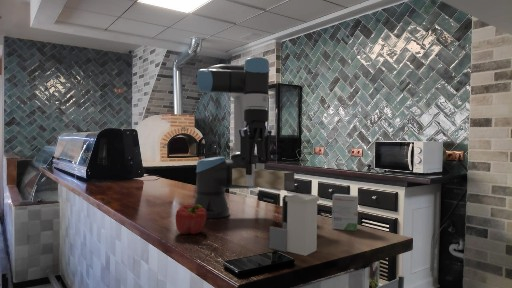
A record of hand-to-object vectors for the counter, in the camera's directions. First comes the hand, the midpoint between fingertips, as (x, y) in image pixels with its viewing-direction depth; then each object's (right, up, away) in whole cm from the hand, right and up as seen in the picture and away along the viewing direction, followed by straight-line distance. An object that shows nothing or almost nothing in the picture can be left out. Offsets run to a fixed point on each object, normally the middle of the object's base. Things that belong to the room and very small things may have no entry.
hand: (255, 184), depth 112 cm
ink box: (+31, -17, +16) cm, 39 cm away
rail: (+2, 0, -1) cm, 2 cm away
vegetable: (-21, -17, +7) cm, 28 cm away
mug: (+16, -17, +25) cm, 34 cm away
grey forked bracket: (+11, -17, -9) cm, 22 cm away
